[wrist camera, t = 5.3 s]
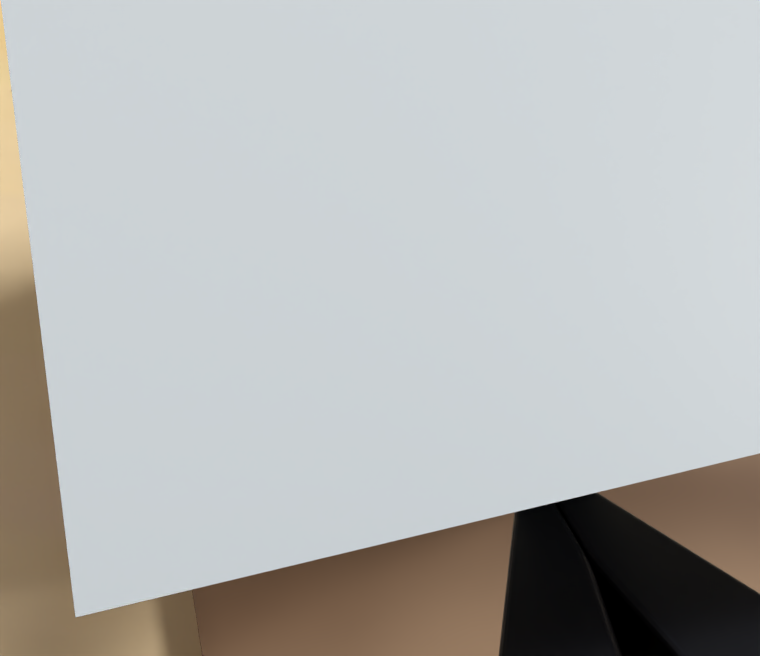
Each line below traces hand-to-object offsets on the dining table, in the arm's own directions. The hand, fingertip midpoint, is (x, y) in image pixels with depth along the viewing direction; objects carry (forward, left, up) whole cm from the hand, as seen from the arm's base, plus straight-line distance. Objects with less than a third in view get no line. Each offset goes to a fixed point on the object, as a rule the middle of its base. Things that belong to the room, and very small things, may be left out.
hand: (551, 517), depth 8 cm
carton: (+4, +3, -8) cm, 9 cm away
